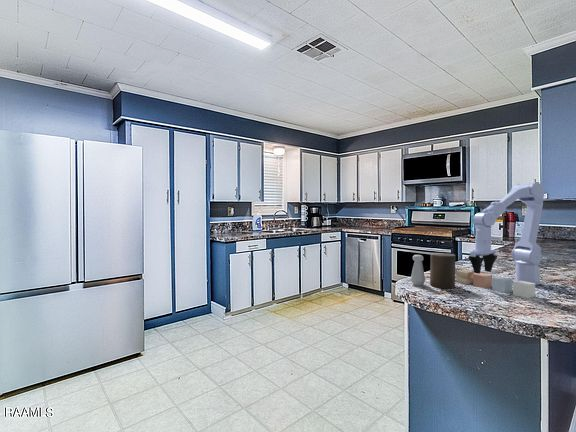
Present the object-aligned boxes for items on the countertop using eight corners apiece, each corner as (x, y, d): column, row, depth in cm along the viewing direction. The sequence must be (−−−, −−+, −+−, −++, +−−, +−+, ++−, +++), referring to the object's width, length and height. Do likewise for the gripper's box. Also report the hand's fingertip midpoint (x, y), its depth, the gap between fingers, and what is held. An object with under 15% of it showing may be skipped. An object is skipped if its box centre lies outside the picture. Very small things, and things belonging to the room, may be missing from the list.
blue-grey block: (499, 288, 132) (499, 276, 132) (512, 291, 127) (512, 279, 127) (492, 290, 129) (492, 277, 129) (505, 293, 125) (505, 280, 125)
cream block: (520, 293, 125) (520, 280, 124) (535, 296, 120) (535, 283, 120) (513, 294, 122) (513, 282, 122) (527, 298, 118) (527, 285, 118)
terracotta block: (480, 284, 139) (480, 272, 139) (491, 286, 134) (492, 275, 134) (473, 285, 137) (473, 274, 136) (484, 288, 132) (484, 276, 132)
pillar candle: (449, 290, 129) (450, 253, 129) (425, 285, 136) (426, 250, 136) (458, 286, 135) (459, 251, 135) (435, 282, 143) (436, 249, 142)
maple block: (463, 280, 146) (463, 269, 146) (473, 282, 142) (473, 271, 141) (456, 281, 144) (456, 270, 144) (466, 284, 139) (466, 272, 139)
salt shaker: (426, 286, 134) (426, 256, 134) (412, 286, 135) (412, 256, 135) (423, 283, 140) (423, 254, 140) (409, 282, 141) (409, 254, 141)
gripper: (484, 239, 142) (483, 269, 142) (463, 240, 135) (462, 272, 136) (500, 240, 135) (500, 272, 136) (479, 242, 129) (479, 275, 129)
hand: (482, 272), depth 135 cm, fingers open, 7 cm apart
